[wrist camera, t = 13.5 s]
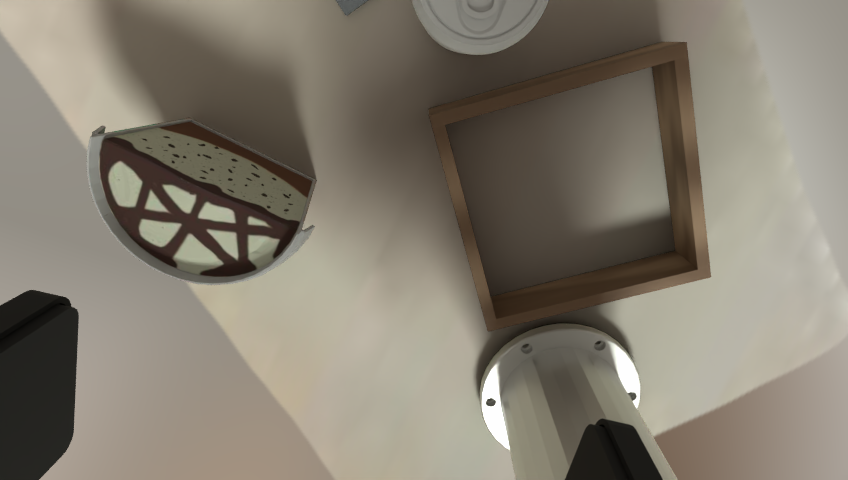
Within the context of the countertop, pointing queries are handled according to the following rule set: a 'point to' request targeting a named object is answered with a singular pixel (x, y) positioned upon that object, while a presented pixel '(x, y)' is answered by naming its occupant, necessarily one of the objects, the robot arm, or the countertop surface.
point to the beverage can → (478, 22)
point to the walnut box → (680, 176)
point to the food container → (197, 201)
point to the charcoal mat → (350, 5)
